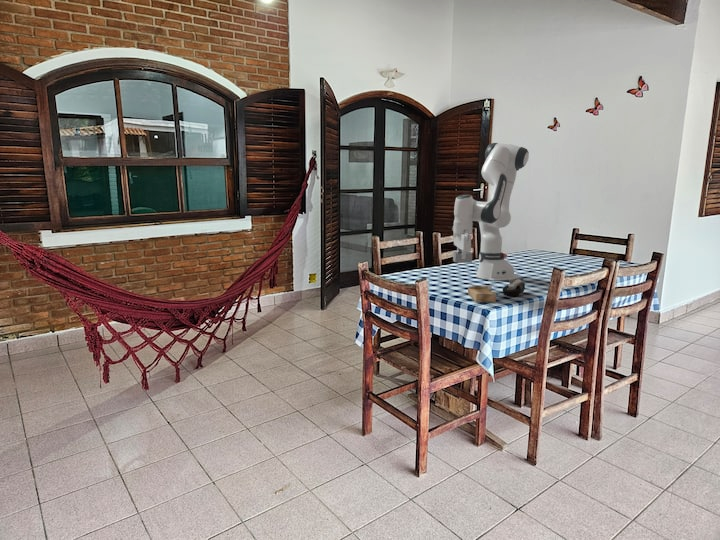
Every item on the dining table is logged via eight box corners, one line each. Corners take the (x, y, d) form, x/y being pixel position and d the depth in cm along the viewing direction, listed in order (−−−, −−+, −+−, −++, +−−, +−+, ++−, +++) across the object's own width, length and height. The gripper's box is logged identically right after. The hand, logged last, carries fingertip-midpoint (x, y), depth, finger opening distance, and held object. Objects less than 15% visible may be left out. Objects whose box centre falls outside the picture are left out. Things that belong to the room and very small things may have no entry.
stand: (486, 294, 238) (487, 286, 237) (495, 301, 224) (496, 293, 223) (467, 294, 237) (468, 286, 237) (475, 302, 224) (476, 293, 223)
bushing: (489, 291, 244) (490, 285, 243) (492, 293, 240) (492, 287, 239) (481, 291, 244) (482, 285, 243) (484, 293, 240) (484, 287, 239)
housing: (469, 260, 243) (469, 250, 242) (471, 262, 238) (472, 251, 237) (453, 260, 243) (453, 250, 242) (455, 262, 238) (455, 251, 237)
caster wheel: (505, 301, 234) (500, 293, 244) (530, 297, 233) (524, 289, 242) (504, 289, 232) (499, 281, 241) (528, 284, 231) (522, 276, 240)
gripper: (475, 231, 227) (473, 261, 230) (464, 226, 247) (462, 253, 250) (461, 232, 227) (460, 261, 230) (451, 226, 247) (450, 253, 250)
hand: (461, 257), depth 240 cm, fingers closed on housing, 5 cm apart
